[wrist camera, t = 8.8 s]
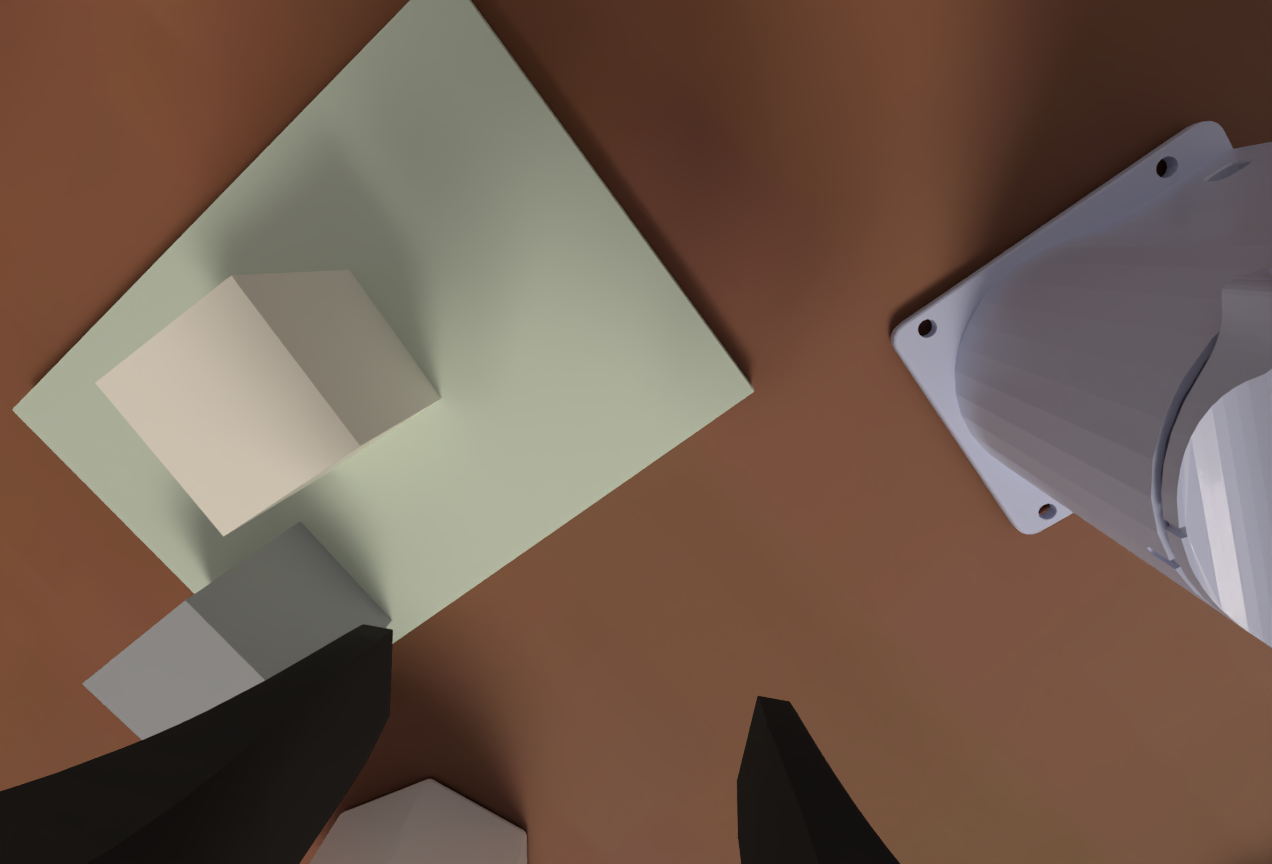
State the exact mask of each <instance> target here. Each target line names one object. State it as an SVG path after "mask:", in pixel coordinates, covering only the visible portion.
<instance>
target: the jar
mask: <svg viewBox="0 0 1272 864" xmlns="http://www.w3.org/2000/svg"><path fill="white" fill-rule="evenodd" d="M309 864H527V835H526V832H525V831H524V830H523V829H521V828H519V827H517V826H516V825H514V824H512V823H510V822H508V821H507V820H505V819H503V818H501V817H499V816H498V815H496V814H494V813H492V812H490V811H489V810H487V809H485V808H483V807H481V806H480V805H478V804H476V803H474V802H472V801H471V800H469V799H467V798H465V797H464V796H462V795H460V794H458V793H456V792H455V791H453V790H451V789H449V788H447V787H446V786H444V785H442V784H440V783H438V782H437V781H435V780H433V779H426V780H423V781H421V782H418V783H416V784H413V785H411V786H408V787H406V788H403V789H401V790H398V791H396V792H393V793H391V794H388V795H386V796H383V797H381V798H378V799H375V800H373V801H370V802H368V803H365V804H363V805H360V806H358V807H355V808H352V809H350V810H347V811H345V812H343V813H341V814H340V815H339V817H338V818H337V820H336V821H335V823H334V825H333V826H332V828H331V829H330V831H329V833H328V834H327V836H326V837H325V839H324V841H323V842H322V844H321V845H320V847H319V849H318V850H317V852H316V853H315V855H314V857H313V858H312V860H311V861H310V863H309Z"/></svg>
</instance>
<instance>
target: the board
mask: <svg viewBox="0 0 1272 864" xmlns="http://www.w3.org/2000/svg"><path fill="white" fill-rule="evenodd" d="M331 270H350V271H351V272H352V274H353V275H354V277H355V278H356V279H357V281H358V282H359V284H360V285H361V286H362V288H363V289H364V291H365V292H366V293H367V295H368V296H369V298H370V299H371V300H372V302H373V303H374V305H375V306H376V307H377V309H378V310H379V312H380V313H381V314H382V316H383V317H384V319H385V320H386V321H387V323H388V324H389V326H390V327H391V328H392V330H393V331H394V333H395V334H396V335H397V337H398V338H399V340H400V341H401V342H402V344H403V345H404V347H405V348H406V349H407V351H408V352H409V354H410V355H411V356H412V358H413V359H414V361H415V362H416V363H417V365H418V366H419V368H420V369H421V370H422V372H423V373H424V375H425V376H426V377H427V379H428V380H429V382H430V383H431V384H432V386H433V387H434V389H435V390H436V391H437V393H438V394H439V396H440V397H441V398H442V399H440V400H438V401H437V402H435V403H434V404H432V405H431V406H429V407H428V408H426V409H425V410H423V411H422V412H420V413H419V414H417V415H416V416H414V417H413V418H411V419H410V420H408V421H407V422H405V423H404V424H402V425H401V426H399V427H398V428H396V429H395V430H393V431H391V432H390V433H388V434H387V435H385V436H384V437H382V438H381V439H379V440H378V441H376V442H375V443H373V444H372V445H370V446H369V447H367V448H366V449H364V450H363V451H361V452H360V453H358V454H357V455H355V456H354V457H352V458H351V459H349V460H347V461H346V462H344V463H343V464H341V465H340V466H338V467H337V468H335V469H334V470H332V471H331V472H329V473H327V474H326V475H324V476H322V477H321V478H319V479H317V480H316V481H314V482H313V483H311V484H309V485H308V486H306V487H304V488H303V489H301V490H299V491H298V492H296V493H294V494H293V495H291V496H289V497H288V498H286V499H285V500H283V501H281V502H280V503H278V504H276V505H275V506H273V507H271V508H270V509H268V510H266V511H265V512H263V513H262V514H260V515H258V516H257V517H255V518H253V519H252V520H250V521H248V522H247V523H245V524H243V525H242V526H240V527H238V528H237V529H235V530H234V531H232V532H230V533H229V534H227V535H225V536H224V537H223V535H222V534H221V533H220V532H219V531H218V529H217V528H216V527H215V526H214V525H213V523H212V522H211V521H210V520H209V519H208V517H207V516H206V515H205V514H204V513H203V511H202V510H201V509H200V508H199V507H198V505H197V504H196V503H195V502H194V501H193V499H192V498H191V497H190V496H189V495H188V493H187V492H186V491H185V490H184V489H183V487H182V486H181V485H180V484H179V483H178V482H177V480H176V479H175V478H174V477H173V476H172V474H171V473H170V472H169V471H168V470H167V468H166V467H165V466H164V465H163V464H162V462H161V461H160V460H159V459H158V458H157V456H156V455H155V454H154V453H153V452H152V450H151V449H150V448H149V447H148V446H147V444H146V443H145V442H144V441H143V440H142V438H141V437H140V436H139V435H138V434H137V432H136V431H135V430H134V429H133V428H132V426H131V425H130V424H129V423H128V422H127V420H126V419H125V418H124V417H123V416H122V414H121V413H120V412H119V411H118V410H117V408H116V407H115V406H114V405H113V404H112V403H111V401H110V400H109V399H108V398H107V397H106V395H105V394H104V393H103V392H102V391H101V389H100V388H99V387H98V386H97V385H96V383H95V382H97V381H98V380H99V379H100V378H102V377H103V376H104V375H106V374H107V373H108V372H109V371H111V370H112V369H113V368H114V367H116V366H117V365H118V364H119V363H121V362H122V361H123V360H125V359H126V358H127V357H128V356H130V355H131V354H132V353H133V352H135V351H136V350H137V349H138V348H140V347H141V346H142V345H144V344H145V343H146V342H147V341H149V340H150V339H151V338H152V337H154V336H155V335H156V334H158V333H159V332H160V331H161V330H163V329H164V328H165V327H166V326H168V325H169V324H170V323H171V322H173V321H174V320H175V319H177V318H178V317H179V316H180V315H182V314H183V313H184V312H185V311H187V310H188V309H189V308H190V307H192V306H193V305H194V304H196V303H197V302H198V301H199V300H201V299H202V298H203V297H204V296H206V295H207V294H208V293H209V292H211V291H212V290H213V289H215V288H216V287H217V286H218V285H220V284H221V283H222V282H223V281H225V280H226V279H227V278H229V277H230V276H231V275H250V274H270V273H290V272H310V271H331ZM753 392H754V389H753V387H752V385H751V384H750V382H749V381H748V379H747V378H746V377H745V375H744V374H743V373H742V371H741V370H740V368H739V367H738V366H737V364H736V363H735V362H734V360H733V359H732V357H731V356H730V355H729V353H728V352H727V351H726V349H725V348H724V346H723V345H722V344H721V342H720V341H719V340H718V338H717V337H716V335H715V334H714V333H713V331H712V330H711V329H710V327H709V326H708V325H707V323H706V322H705V320H704V319H703V318H702V316H701V315H700V314H699V312H698V311H697V309H696V308H695V307H694V305H693V304H692V303H691V301H690V300H689V298H688V297H687V296H686V294H685V293H684V292H683V290H682V289H681V287H680V286H679V285H678V283H677V282H676V281H675V279H674V278H673V277H672V275H671V274H670V272H669V271H668V270H667V268H666V267H665V266H664V264H663V263H662V261H661V260H660V259H659V257H658V256H657V255H656V253H655V252H654V250H653V249H652V248H651V246H650V245H649V244H648V242H647V241H646V239H645V238H644V237H643V235H642V234H641V233H640V231H639V230H638V229H637V227H636V226H635V224H634V223H633V222H632V220H631V219H630V218H629V216H628V215H627V213H626V212H625V211H624V209H623V208H622V207H621V205H620V204H619V202H618V201H617V200H616V198H615V197H614V196H613V194H612V193H611V191H610V190H609V189H608V187H607V186H606V185H605V183H604V182H603V180H602V179H601V178H600V176H599V175H598V174H597V172H596V171H595V170H594V168H593V167H592V165H591V164H590V163H589V161H588V160H587V159H586V157H585V156H584V154H583V153H582V152H581V150H580V149H579V148H578V146H577V145H576V143H575V142H574V141H573V139H572V138H571V137H570V135H569V134H568V132H567V131H566V130H565V128H564V127H563V126H562V124H561V123H560V122H559V120H558V119H557V117H556V116H555V115H554V113H553V112H552V111H551V109H550V108H549V106H548V105H547V104H546V102H545V101H544V100H543V98H542V97H541V95H540V94H539V93H538V91H537V90H536V89H535V87H534V86H533V84H532V83H531V82H530V80H529V79H528V78H527V76H526V75H525V74H524V72H523V71H522V69H521V68H520V67H519V65H518V64H517V63H516V61H515V60H514V58H513V57H512V56H511V54H510V53H509V52H508V50H507V49H506V47H505V46H504V45H503V43H502V42H501V41H500V39H499V38H498V36H497V35H496V34H495V32H494V31H493V30H492V28H491V27H490V25H489V24H488V23H487V21H486V20H485V19H484V17H483V16H482V15H481V13H480V12H479V10H478V9H477V8H476V6H475V5H474V4H473V2H472V1H471V0H410V1H409V2H408V3H407V4H406V5H405V6H404V7H403V8H402V9H401V10H400V11H399V12H398V13H397V14H396V15H395V16H394V17H393V18H392V19H391V20H390V21H389V23H388V24H387V25H386V26H385V27H384V28H383V29H382V30H381V31H380V32H379V33H378V34H377V35H376V36H375V37H374V38H373V39H372V40H371V41H370V42H369V43H368V44H367V45H366V46H365V47H364V48H363V49H362V50H361V51H360V52H359V53H358V54H357V55H356V56H355V57H354V59H353V60H352V61H351V62H350V63H349V64H348V65H347V66H346V67H345V68H344V69H343V70H342V71H341V72H340V73H339V74H338V75H337V76H336V77H335V78H334V79H333V80H332V81H331V82H330V83H329V84H328V85H327V86H326V87H325V88H324V89H323V90H322V91H321V92H320V93H319V95H318V96H317V97H316V98H315V99H314V100H313V101H312V102H311V103H310V104H309V105H308V106H307V107H306V108H305V109H304V110H303V111H302V112H301V113H300V114H299V115H298V116H297V117H296V118H295V119H294V120H293V121H292V122H291V123H290V124H289V125H288V126H287V127H286V128H285V130H284V131H283V132H282V133H281V134H280V135H279V136H278V137H277V138H276V139H275V140H274V141H273V142H272V143H271V144H270V145H269V146H268V147H267V148H266V149H265V150H264V151H263V152H262V153H261V154H260V155H259V156H258V157H257V158H256V159H255V160H254V161H253V162H252V163H251V164H250V166H249V167H248V168H247V169H246V170H245V171H244V172H243V173H242V174H241V175H240V176H239V177H238V178H237V179H236V180H235V181H234V182H233V183H232V184H231V185H230V186H229V187H228V188H227V189H226V190H225V191H224V192H223V193H222V194H221V195H220V196H219V197H218V198H217V199H216V201H215V202H214V203H213V204H212V205H211V206H210V207H209V208H208V209H207V210H206V211H205V212H204V213H203V214H202V215H201V216H200V217H199V218H198V219H197V220H196V221H195V222H194V223H193V224H192V225H191V226H190V227H189V228H188V229H187V230H186V231H185V232H184V233H183V234H182V235H181V237H180V238H179V239H178V240H177V241H176V242H175V243H174V244H173V245H172V246H171V247H170V248H169V249H168V250H167V251H166V252H165V253H164V254H163V255H162V256H161V257H160V258H159V259H158V260H157V261H156V262H155V263H154V264H153V265H152V266H151V267H150V268H149V269H148V270H147V272H146V273H145V274H144V275H143V276H142V277H141V278H140V279H139V280H138V281H137V282H136V283H135V284H134V285H133V286H132V287H131V288H130V289H129V290H128V291H127V292H126V293H125V294H124V295H123V296H122V297H121V298H120V299H119V300H118V301H117V302H116V303H115V304H114V305H113V306H112V308H111V309H110V310H109V311H108V312H107V313H106V314H105V315H104V316H103V317H102V318H101V319H100V320H99V321H98V322H97V323H96V324H95V325H94V326H93V327H92V328H91V329H90V330H89V331H88V332H87V333H86V334H85V335H84V336H83V337H82V338H81V339H80V340H79V341H78V342H77V344H76V345H75V346H74V347H73V348H72V349H71V350H70V351H69V352H68V353H67V354H66V355H65V356H64V357H63V358H62V359H61V360H60V361H59V362H58V363H57V364H56V365H55V366H54V367H53V368H52V369H51V370H50V371H49V372H48V373H47V374H46V375H45V376H44V377H43V379H42V380H41V381H40V382H39V383H38V384H37V385H36V386H35V387H34V388H33V389H32V390H31V391H30V392H29V393H28V394H27V395H26V396H25V397H24V398H23V399H22V400H21V401H20V402H19V403H18V404H17V405H16V406H15V407H14V408H13V409H12V410H13V411H14V412H15V413H16V414H17V415H18V416H19V417H20V418H21V419H22V420H23V421H24V422H25V423H26V424H27V425H28V426H29V427H30V428H31V429H32V430H33V431H34V432H35V433H36V434H37V435H38V436H39V437H40V438H41V439H42V440H43V441H44V443H45V444H46V445H47V446H48V447H49V448H50V449H51V450H52V451H53V452H54V453H55V454H56V455H57V456H58V457H59V458H60V459H61V460H62V461H63V462H64V463H65V464H66V465H67V466H68V467H69V468H70V469H71V470H72V471H73V472H74V473H75V474H76V475H77V476H78V477H79V478H80V479H81V480H82V481H83V482H84V483H85V484H86V485H87V486H88V487H89V488H90V489H91V490H92V491H93V492H94V493H95V494H96V495H97V496H98V497H99V498H100V499H101V500H102V501H103V502H104V503H105V504H106V505H107V506H108V507H109V508H110V509H111V510H112V511H113V512H114V513H115V514H116V515H117V516H118V517H119V518H120V519H121V520H122V521H123V522H124V523H125V524H126V525H127V526H128V527H129V528H130V529H131V530H132V531H133V532H134V533H135V534H136V535H137V536H138V537H139V538H140V539H141V540H142V541H143V542H144V543H145V544H146V545H147V546H148V547H149V548H150V549H151V550H152V551H153V552H154V553H155V554H156V555H157V556H158V558H159V559H160V560H161V561H162V562H163V563H164V564H165V565H166V566H167V567H168V568H169V569H170V570H171V571H172V572H173V573H174V574H175V575H176V576H177V577H178V578H179V579H180V580H181V581H182V582H183V583H184V584H185V585H186V586H187V587H188V588H189V589H190V590H191V591H192V592H193V593H194V594H195V593H197V592H198V591H200V590H201V589H203V588H204V587H206V586H207V585H208V584H210V583H211V582H213V581H214V580H216V579H217V578H219V577H220V576H222V575H223V574H224V573H226V572H227V571H229V570H230V569H232V568H233V567H235V566H236V565H238V564H239V563H240V562H242V561H243V560H245V559H246V558H248V557H249V556H251V555H252V554H253V553H255V552H256V551H258V550H259V549H261V548H262V547H264V546H265V545H267V544H268V543H269V542H271V541H272V540H274V539H275V538H277V537H278V536H280V535H281V534H283V533H284V532H285V531H287V530H288V529H290V528H291V527H293V526H294V525H296V524H297V523H299V522H301V523H302V524H303V525H304V526H305V527H306V528H307V529H308V530H309V531H310V532H311V534H312V535H313V536H314V537H315V538H316V539H317V540H318V541H319V542H320V543H321V544H322V545H323V546H324V548H325V549H326V550H327V551H328V552H329V553H330V554H331V555H332V556H333V557H334V558H335V559H336V560H337V562H338V563H339V564H340V565H341V566H342V567H343V568H344V569H345V570H346V571H347V572H348V573H349V575H350V576H351V577H352V578H353V579H354V580H355V581H356V582H357V583H358V584H359V585H360V586H361V587H362V589H363V590H364V591H365V592H366V593H367V594H368V595H369V596H370V597H371V598H372V599H373V600H374V601H375V603H376V604H377V605H378V606H379V607H380V608H381V609H382V610H383V611H384V612H385V613H386V614H387V615H388V617H389V618H390V619H391V620H392V621H391V622H390V623H389V625H388V626H387V627H386V628H387V629H393V642H392V644H393V643H394V642H396V641H397V640H399V639H400V638H402V637H403V636H404V635H406V634H407V633H409V632H410V631H412V630H413V629H414V628H416V627H417V626H419V625H420V624H422V623H423V622H425V621H426V620H427V619H429V618H430V617H432V616H433V615H435V614H436V613H437V612H439V611H440V610H442V609H443V608H445V607H446V606H447V605H449V604H450V603H452V602H453V601H455V600H456V599H458V598H459V597H460V596H462V595H463V594H465V593H466V592H468V591H469V590H470V589H472V588H473V587H475V586H476V585H478V584H479V583H480V582H482V581H483V580H485V579H486V578H488V577H489V576H490V575H492V574H493V573H495V572H496V571H498V570H499V569H501V568H502V567H503V566H505V565H506V564H508V563H509V562H511V561H512V560H513V559H515V558H516V557H518V556H519V555H521V554H522V553H523V552H525V551H526V550H528V549H529V548H531V547H532V546H533V545H535V544H536V543H538V542H539V541H541V540H542V539H544V538H545V537H546V536H548V535H549V534H551V533H552V532H554V531H555V530H556V529H558V528H559V527H561V526H562V525H564V524H565V523H566V522H568V521H569V520H571V519H572V518H574V517H575V516H576V515H578V514H579V513H581V512H582V511H584V510H585V509H587V508H588V507H589V506H591V505H592V504H594V503H595V502H597V501H598V500H599V499H601V498H602V497H604V496H605V495H607V494H608V493H609V492H611V491H612V490H614V489H615V488H617V487H618V486H620V485H621V484H622V483H624V482H625V481H627V480H628V479H630V478H631V477H632V476H634V475H635V474H637V473H638V472H640V471H641V470H642V469H644V468H645V467H647V466H648V465H650V464H651V463H652V462H654V461H655V460H657V459H658V458H660V457H661V456H663V455H664V454H665V453H667V452H668V451H670V450H671V449H673V448H674V447H675V446H677V445H678V444H680V443H681V442H683V441H684V440H685V439H687V438H688V437H690V436H691V435H693V434H694V433H695V432H697V431H698V430H700V429H701V428H703V427H704V426H706V425H707V424H708V423H710V422H711V421H713V420H714V419H716V418H717V417H718V416H720V415H721V414H723V413H724V412H726V411H727V410H728V409H730V408H731V407H733V406H734V405H736V404H737V403H739V402H740V401H741V400H743V399H744V398H746V397H747V396H749V395H750V394H751V393H753Z"/></svg>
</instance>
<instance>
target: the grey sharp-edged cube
mask: <svg viewBox="0 0 1272 864" xmlns="http://www.w3.org/2000/svg"><path fill="white" fill-rule="evenodd" d="M391 621H392V620H391V619H390V618H389V617H388V615H387V614H386V613H385V612H384V611H383V610H382V609H381V608H380V607H379V606H378V605H377V604H376V603H375V601H374V600H373V599H372V598H371V597H370V596H369V595H368V594H367V593H366V592H365V591H364V590H363V589H362V587H361V586H360V585H359V584H358V583H357V582H356V581H355V580H354V579H353V578H352V577H351V576H350V575H349V573H348V572H347V571H346V570H345V569H344V568H343V567H342V566H341V565H340V564H339V563H338V562H337V560H336V559H335V558H334V557H333V556H332V555H331V554H330V553H329V552H328V551H327V550H326V549H325V548H324V546H323V545H322V544H321V543H320V542H319V541H318V540H317V539H316V538H315V537H314V536H313V535H312V534H311V532H310V531H309V530H308V529H307V528H306V527H305V526H304V525H303V524H302V523H301V522H299V523H297V524H296V525H294V526H293V527H291V528H290V529H288V530H287V531H285V532H284V533H283V534H281V535H280V536H278V537H277V538H275V539H274V540H272V541H271V542H269V543H268V544H267V545H265V546H264V547H262V548H261V549H259V550H258V551H256V552H255V553H253V554H252V555H251V556H249V557H248V558H246V559H245V560H243V561H242V562H240V563H239V564H238V565H236V566H235V567H233V568H232V569H230V570H229V571H227V572H226V573H224V574H223V575H222V576H220V577H219V578H217V579H216V580H214V581H213V582H211V583H210V584H208V585H207V586H206V587H204V588H203V589H201V590H200V591H198V592H197V593H195V594H194V595H192V596H191V597H190V598H188V599H187V600H185V601H184V602H183V603H182V604H180V605H179V606H178V607H177V608H175V609H174V610H173V611H172V612H170V613H169V614H168V615H167V616H165V617H164V618H163V619H162V620H161V621H159V622H158V623H157V624H156V625H154V626H153V627H152V628H151V629H149V630H148V631H147V632H146V633H144V634H143V635H142V636H141V637H140V638H138V639H137V640H136V641H135V642H133V643H132V644H131V645H130V646H128V647H127V648H126V649H125V650H123V651H122V652H121V653H120V654H119V655H117V656H116V657H115V658H114V659H112V660H111V661H110V662H109V663H107V664H106V665H105V666H104V667H102V668H101V669H100V670H99V671H98V672H96V673H95V674H94V675H93V676H91V677H90V678H89V679H88V680H86V681H85V682H84V683H83V685H84V686H85V687H86V688H87V689H88V690H89V691H90V692H91V693H92V694H93V695H94V696H96V697H97V698H98V699H99V700H100V701H101V702H102V703H103V704H104V705H105V706H106V707H107V708H108V709H109V710H111V711H112V712H113V713H114V714H115V715H116V716H117V717H118V718H119V719H120V720H121V721H122V722H123V723H124V724H125V725H127V726H128V727H129V728H130V729H131V730H132V731H133V732H134V733H135V734H136V735H137V736H138V737H139V738H140V739H141V740H144V739H146V738H148V737H151V736H153V735H155V734H158V733H160V732H162V731H164V730H167V729H169V728H171V727H174V726H176V725H178V724H180V723H182V722H184V721H187V720H189V719H191V718H193V717H195V716H197V715H199V714H201V713H203V712H205V711H208V710H210V709H211V708H213V707H215V706H217V705H219V704H221V703H223V702H225V701H227V700H229V699H231V698H232V697H234V696H236V695H238V694H240V693H242V692H244V691H246V690H248V689H250V688H252V687H254V686H255V685H257V684H259V683H261V682H263V681H265V680H267V679H269V678H270V677H272V676H274V675H276V674H277V673H279V672H281V671H282V670H284V669H286V668H288V667H289V666H291V665H293V664H295V663H296V662H298V661H300V660H302V659H303V658H305V657H307V656H309V655H310V654H312V653H314V652H315V651H317V650H319V649H321V648H322V647H324V646H326V645H327V644H329V643H331V642H332V641H334V640H336V639H337V638H339V637H341V636H343V635H344V634H346V633H348V632H350V631H351V630H353V629H355V628H357V627H359V626H360V625H362V624H365V625H371V626H376V627H382V628H386V627H387V626H388V625H389V623H390V622H391Z"/></svg>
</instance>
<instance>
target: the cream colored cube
mask: <svg viewBox="0 0 1272 864" xmlns="http://www.w3.org/2000/svg"><path fill="white" fill-rule="evenodd" d="M95 383H96V385H97V386H98V387H99V388H100V389H101V391H102V392H103V393H104V394H105V395H106V397H107V398H108V399H109V400H110V401H111V403H112V404H113V405H114V406H115V407H116V408H117V410H118V411H119V412H120V413H121V414H122V416H123V417H124V418H125V419H126V420H127V422H128V423H129V424H130V425H131V426H132V428H133V429H134V430H135V431H136V432H137V434H138V435H139V436H140V437H141V438H142V440H143V441H144V442H145V443H146V444H147V446H148V447H149V448H150V449H151V450H152V452H153V453H154V454H155V455H156V456H157V458H158V459H159V460H160V461H161V462H162V464H163V465H164V466H165V467H166V468H167V470H168V471H169V472H170V473H171V474H172V476H173V477H174V478H175V479H176V480H177V482H178V483H179V484H180V485H181V486H182V487H183V489H184V490H185V491H186V492H187V493H188V495H189V496H190V497H191V498H192V499H193V501H194V502H195V503H196V504H197V505H198V507H199V508H200V509H201V510H202V511H203V513H204V514H205V515H206V516H207V517H208V519H209V520H210V521H211V522H212V523H213V525H214V526H215V527H216V528H217V529H218V531H219V532H220V533H221V534H222V535H223V537H224V536H225V535H227V534H229V533H230V532H232V531H234V530H235V529H237V528H238V527H240V526H242V525H243V524H245V523H247V522H248V521H250V520H252V519H253V518H255V517H257V516H258V515H260V514H262V513H263V512H265V511H266V510H268V509H270V508H271V507H273V506H275V505H276V504H278V503H280V502H281V501H283V500H285V499H286V498H288V497H289V496H291V495H293V494H294V493H296V492H298V491H299V490H301V489H303V488H304V487H306V486H308V485H309V484H311V483H313V482H314V481H316V480H317V479H319V478H321V477H322V476H324V475H326V474H327V473H329V472H331V471H332V470H334V469H335V468H337V467H338V466H340V465H341V464H343V463H344V462H346V461H347V460H349V459H351V458H352V457H354V456H355V455H357V454H358V453H360V452H361V451H363V450H364V449H366V448H367V447H369V446H370V445H372V444H373V443H375V442H376V441H378V440H379V439H381V438H382V437H384V436H385V435H387V434H388V433H390V432H391V431H393V430H395V429H396V428H398V427H399V426H401V425H402V424H404V423H405V422H407V421H408V420H410V419H411V418H413V417H414V416H416V415H417V414H419V413H420V412H422V411H423V410H425V409H426V408H428V407H429V406H431V405H432V404H434V403H435V402H437V401H438V400H440V399H442V398H441V397H440V396H439V394H438V393H437V391H436V390H435V389H434V387H433V386H432V384H431V383H430V382H429V380H428V379H427V377H426V376H425V375H424V373H423V372H422V370H421V369H420V368H419V366H418V365H417V363H416V362H415V361H414V359H413V358H412V356H411V355H410V354H409V352H408V351H407V349H406V348H405V347H404V345H403V344H402V342H401V341H400V340H399V338H398V337H397V335H396V334H395V333H394V331H393V330H392V328H391V327H390V326H389V324H388V323H387V321H386V320H385V319H384V317H383V316H382V314H381V313H380V312H379V310H378V309H377V307H376V306H375V305H374V303H373V302H372V300H371V299H370V298H369V296H368V295H367V293H366V292H365V291H364V289H363V288H362V286H361V285H360V284H359V282H358V281H357V279H356V278H355V277H354V275H353V274H352V272H351V271H350V270H331V271H310V272H290V273H270V274H250V275H231V276H230V277H229V278H227V279H226V280H225V281H223V282H222V283H221V284H220V285H218V286H217V287H216V288H215V289H213V290H212V291H211V292H209V293H208V294H207V295H206V296H204V297H203V298H202V299H201V300H199V301H198V302H197V303H196V304H194V305H193V306H192V307H190V308H189V309H188V310H187V311H185V312H184V313H183V314H182V315H180V316H179V317H178V318H177V319H175V320H174V321H173V322H171V323H170V324H169V325H168V326H166V327H165V328H164V329H163V330H161V331H160V332H159V333H158V334H156V335H155V336H154V337H152V338H151V339H150V340H149V341H147V342H146V343H145V344H144V345H142V346H141V347H140V348H138V349H137V350H136V351H135V352H133V353H132V354H131V355H130V356H128V357H127V358H126V359H125V360H123V361H122V362H121V363H119V364H118V365H117V366H116V367H114V368H113V369H112V370H111V371H109V372H108V373H107V374H106V375H104V376H103V377H102V378H100V379H99V380H98V381H97V382H95Z"/></svg>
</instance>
